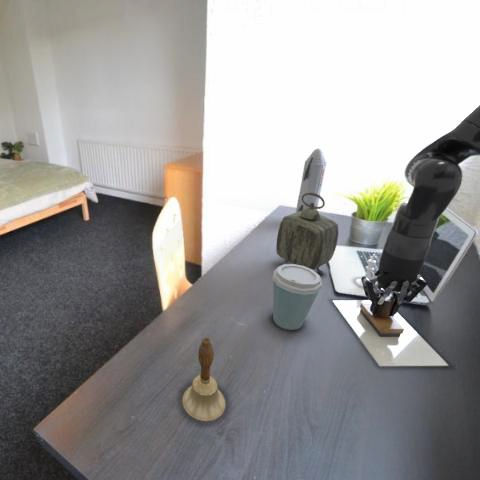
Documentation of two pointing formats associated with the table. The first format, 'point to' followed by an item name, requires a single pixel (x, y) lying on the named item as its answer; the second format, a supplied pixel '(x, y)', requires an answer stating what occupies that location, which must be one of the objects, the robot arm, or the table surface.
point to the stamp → (383, 319)
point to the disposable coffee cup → (294, 294)
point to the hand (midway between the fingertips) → (382, 314)
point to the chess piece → (368, 269)
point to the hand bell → (204, 389)
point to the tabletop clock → (307, 237)
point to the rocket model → (312, 179)
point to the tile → (389, 340)
